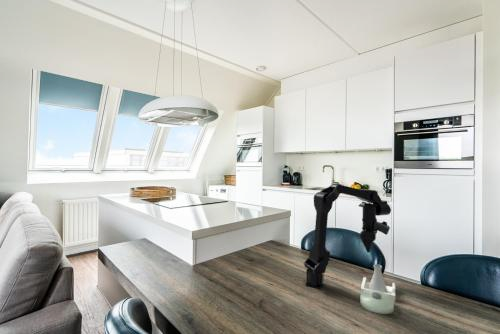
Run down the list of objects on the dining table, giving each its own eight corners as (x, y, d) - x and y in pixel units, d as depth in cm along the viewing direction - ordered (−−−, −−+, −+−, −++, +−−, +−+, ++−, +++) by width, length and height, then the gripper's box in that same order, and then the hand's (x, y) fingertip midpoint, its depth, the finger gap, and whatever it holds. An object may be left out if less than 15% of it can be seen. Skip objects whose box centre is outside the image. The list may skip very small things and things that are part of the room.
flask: (390, 295, 100) (390, 270, 100) (370, 293, 102) (370, 268, 101) (384, 286, 107) (384, 263, 107) (366, 285, 109) (366, 261, 109)
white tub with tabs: (357, 308, 92) (357, 297, 92) (363, 282, 113) (363, 273, 113) (395, 317, 87) (395, 305, 87) (395, 288, 107) (394, 279, 107)
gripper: (388, 221, 108) (388, 258, 108) (388, 214, 125) (388, 246, 125) (359, 219, 114) (359, 254, 114) (363, 212, 130) (364, 243, 130)
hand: (369, 249), depth 120 cm, fingers open, 9 cm apart
